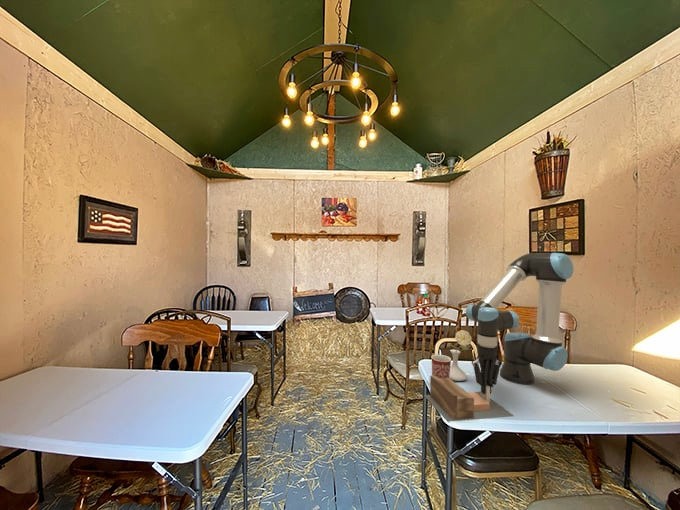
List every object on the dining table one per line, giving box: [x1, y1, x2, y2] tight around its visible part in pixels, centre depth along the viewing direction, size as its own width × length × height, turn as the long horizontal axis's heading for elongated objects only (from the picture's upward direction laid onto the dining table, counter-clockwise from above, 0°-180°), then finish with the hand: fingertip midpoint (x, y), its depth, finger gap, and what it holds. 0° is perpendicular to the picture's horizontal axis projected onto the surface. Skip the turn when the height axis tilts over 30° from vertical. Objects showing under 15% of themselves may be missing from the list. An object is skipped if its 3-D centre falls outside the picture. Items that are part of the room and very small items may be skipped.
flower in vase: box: [449, 329, 473, 382], centre depth 146 cm, size 13×11×25 cm
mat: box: [423, 391, 515, 423], centre depth 120 cm, size 28×20×1 cm
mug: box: [430, 354, 452, 378], centre depth 139 cm, size 13×9×14 cm
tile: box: [466, 391, 490, 411], centre depth 120 cm, size 14×10×3 cm
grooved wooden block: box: [429, 374, 474, 419], centre depth 118 cm, size 9×18×9 cm, turn 10°
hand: (485, 400), depth 121 cm, fingers closed
